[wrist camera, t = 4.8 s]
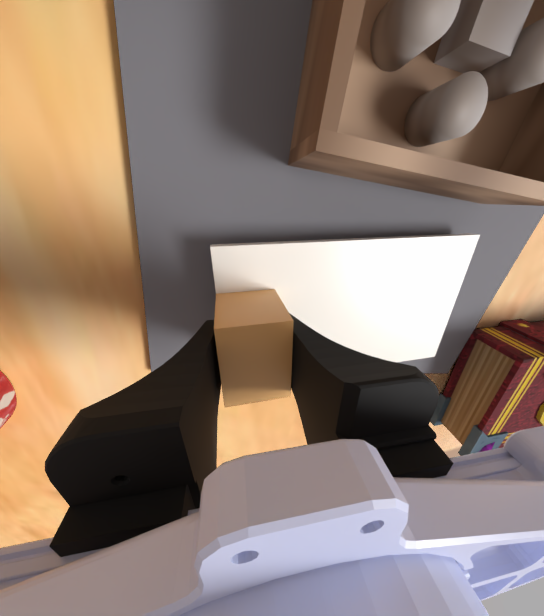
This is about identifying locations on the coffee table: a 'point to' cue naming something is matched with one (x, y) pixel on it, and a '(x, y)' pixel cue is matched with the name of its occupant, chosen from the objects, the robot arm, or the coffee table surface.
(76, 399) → the coffee table surface
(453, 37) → the tub
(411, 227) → the mat
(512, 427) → the decorative book
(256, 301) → the lid
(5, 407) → the mug
